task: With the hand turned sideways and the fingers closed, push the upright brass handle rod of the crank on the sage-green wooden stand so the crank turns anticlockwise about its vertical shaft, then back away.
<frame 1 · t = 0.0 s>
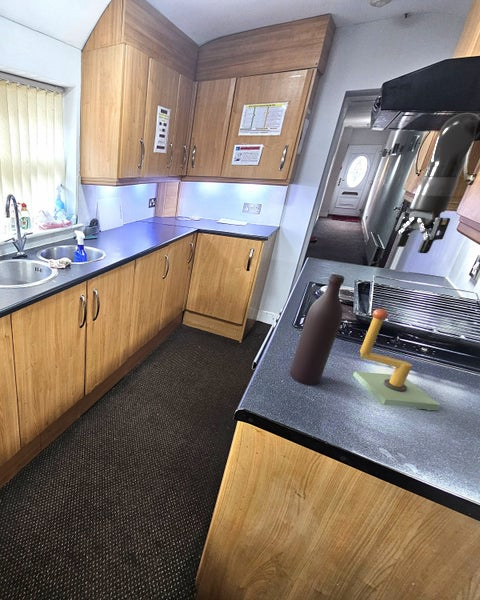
hand: (410, 249, 99), 32 cm above the worktop, tool pointing down, fingers open, 8 cm apart
wine bottle: (303, 378, 90), on the worktop
stand: (391, 392, 85), on the worktop
rod: (388, 347, 83), point 12 cm above the worktop, hinge at -30.0°
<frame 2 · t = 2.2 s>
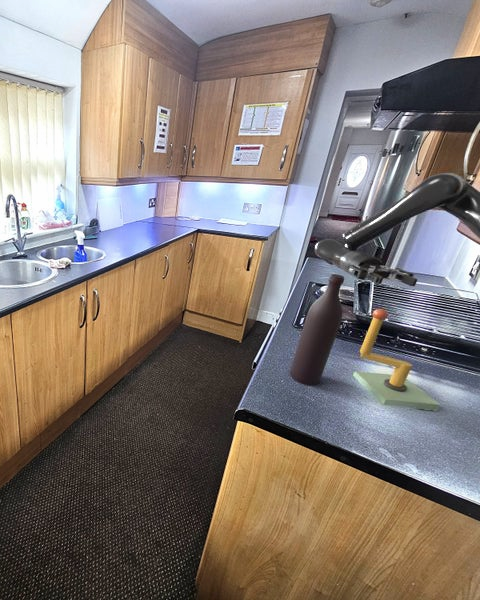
hand: (397, 281, 90), 25 cm above the worktop, tool horizontal, fingers open, 8 cm apart
nothing on the worktop moved.
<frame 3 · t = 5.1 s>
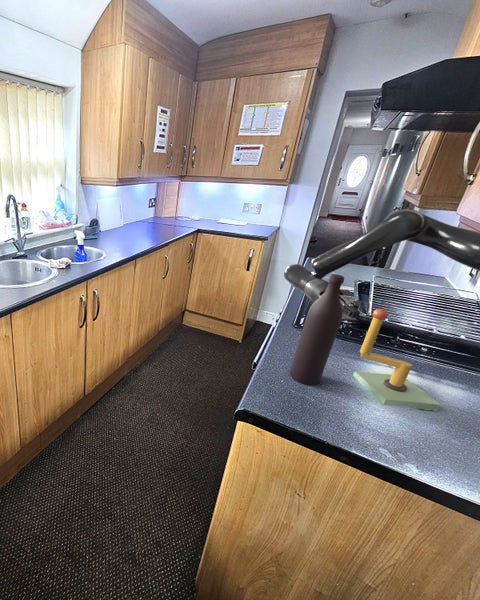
hand: (355, 315, 91), 16 cm above the worktop, tool horizontal, fingers closed
nothing on the worktop moved.
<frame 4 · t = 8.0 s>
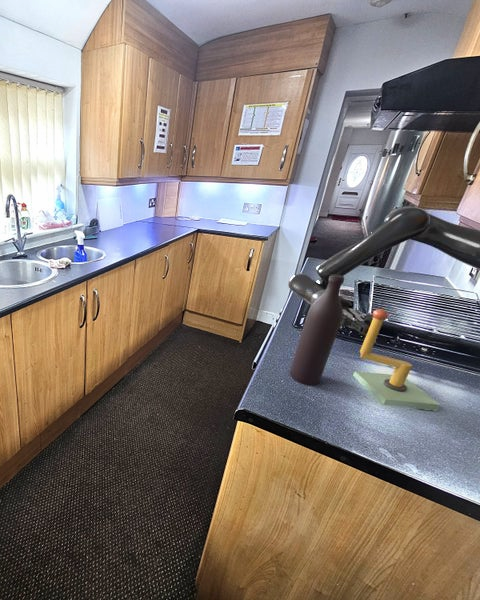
hand: (367, 331, 85), 15 cm above the worktop, tool horizontal, fingers closed
rod: (388, 347, 83), point 12 cm above the worktop, hinge at -28.5°, touching gripper
everything else where it was.
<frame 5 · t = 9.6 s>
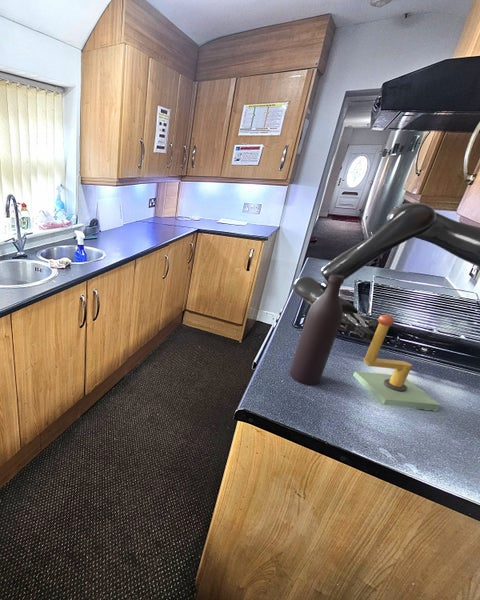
hand: (370, 337, 82), 15 cm above the worktop, tool horizontal, fingers closed
rod: (391, 350, 81), point 12 cm above the worktop, hinge at -2.2°, touching gripper
everything else where it was.
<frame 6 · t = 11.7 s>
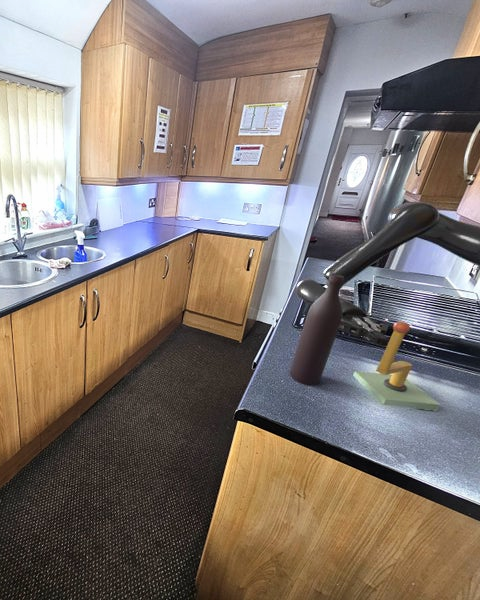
hand: (384, 342, 79), 15 cm above the worktop, tool horizontal, fingers closed
rod: (399, 355, 79), point 12 cm above the worktop, hinge at 25.4°
everything else where it was.
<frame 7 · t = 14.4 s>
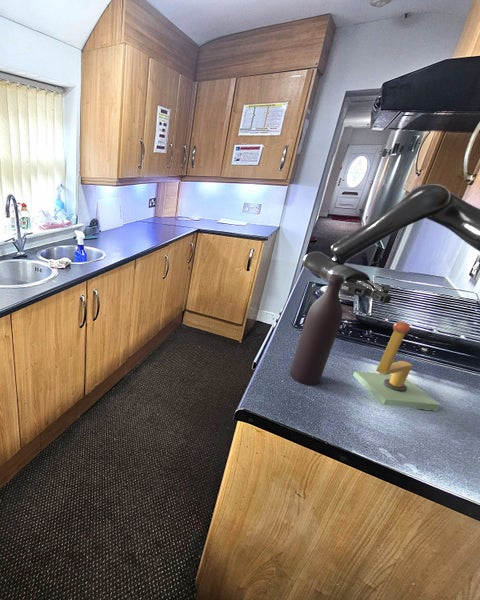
hand: (387, 299, 86), 22 cm above the worktop, tool horizontal, fingers closed
nothing on the worktop moved.
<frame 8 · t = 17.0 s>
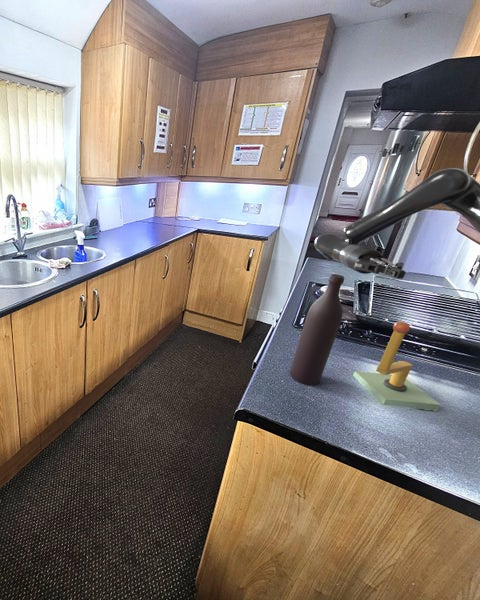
hand: (401, 275, 87), 28 cm above the worktop, tool horizontal, fingers closed
nothing on the worktop moved.
at the end: rod at +25° (first picture: -30°); wine bottle moved 0.1 cm from its start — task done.
